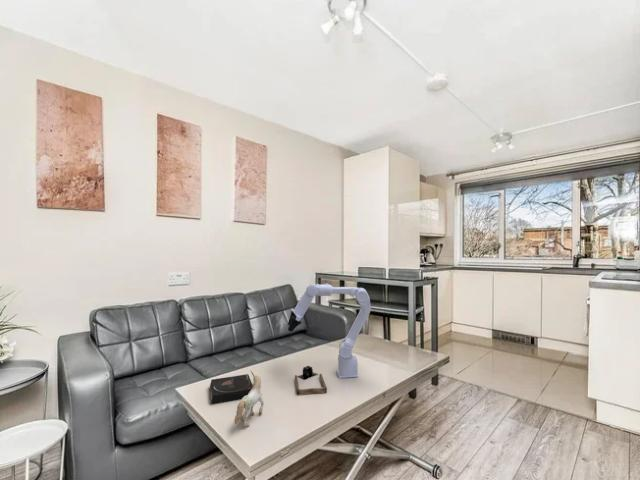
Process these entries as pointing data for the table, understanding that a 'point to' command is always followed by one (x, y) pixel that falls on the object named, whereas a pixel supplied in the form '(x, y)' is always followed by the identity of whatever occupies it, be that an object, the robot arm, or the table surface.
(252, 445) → the table surface
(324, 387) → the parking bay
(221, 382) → the portable cd player
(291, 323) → the robot arm
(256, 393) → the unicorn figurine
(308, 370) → the black bevelled base
